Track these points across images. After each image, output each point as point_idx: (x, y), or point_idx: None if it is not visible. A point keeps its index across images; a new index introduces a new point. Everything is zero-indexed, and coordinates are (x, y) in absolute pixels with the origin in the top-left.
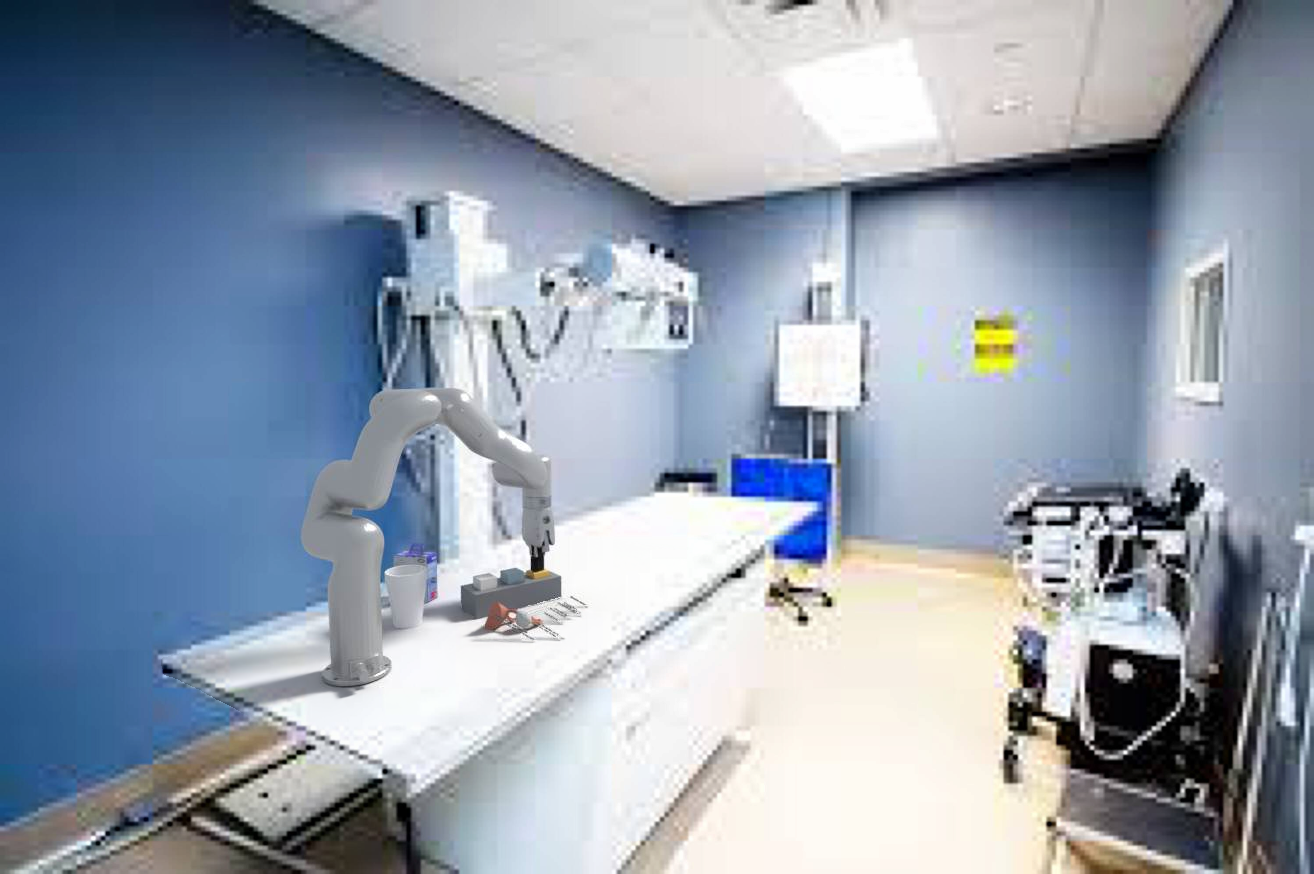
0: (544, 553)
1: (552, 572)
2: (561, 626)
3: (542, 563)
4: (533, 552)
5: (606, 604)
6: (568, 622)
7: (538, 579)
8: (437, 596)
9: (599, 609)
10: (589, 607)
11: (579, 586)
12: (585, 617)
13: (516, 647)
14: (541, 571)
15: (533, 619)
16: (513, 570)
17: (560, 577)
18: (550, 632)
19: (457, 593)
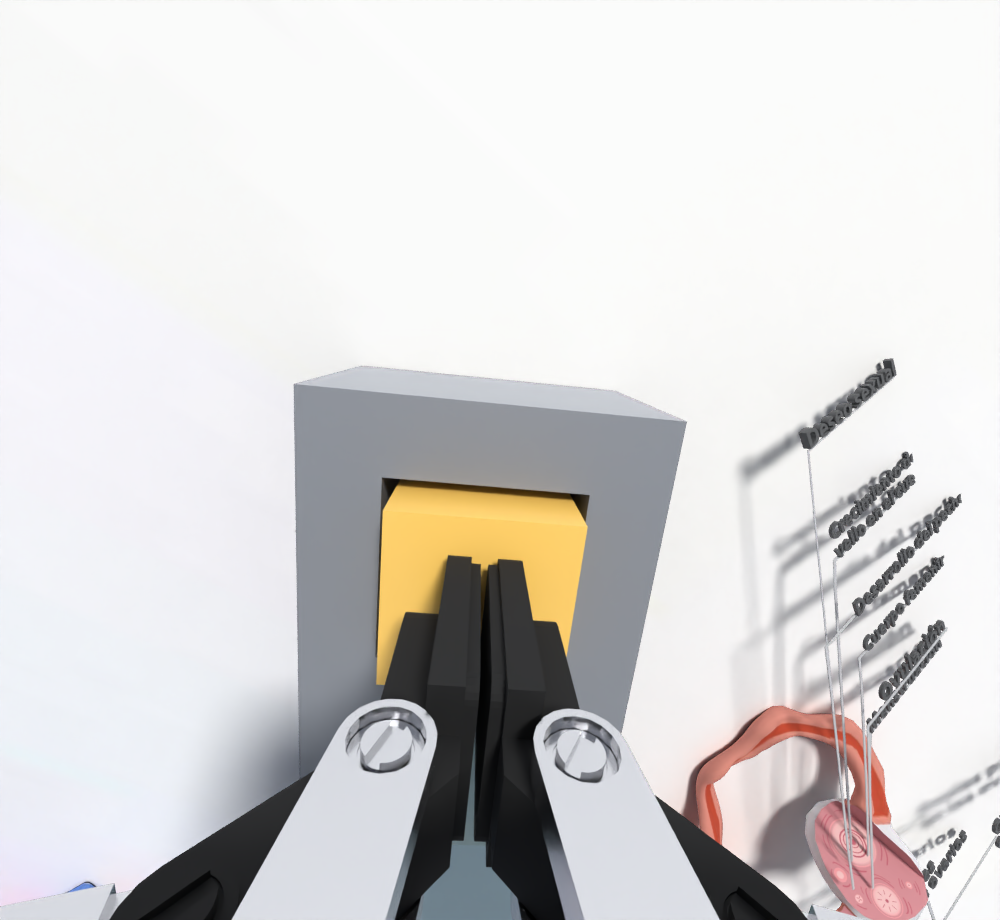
0: (680, 815)
1: (503, 409)
2: (948, 662)
3: (564, 656)
4: (422, 892)
5: (971, 226)
6: (946, 607)
7: (591, 641)
8: (87, 887)
9: (984, 338)
10: (901, 364)
11: (492, 70)
12: (986, 496)
13: (929, 892)
14: (535, 597)
15: (871, 797)
16: (439, 894)
17: (680, 430)
18: None
19: (83, 792)
